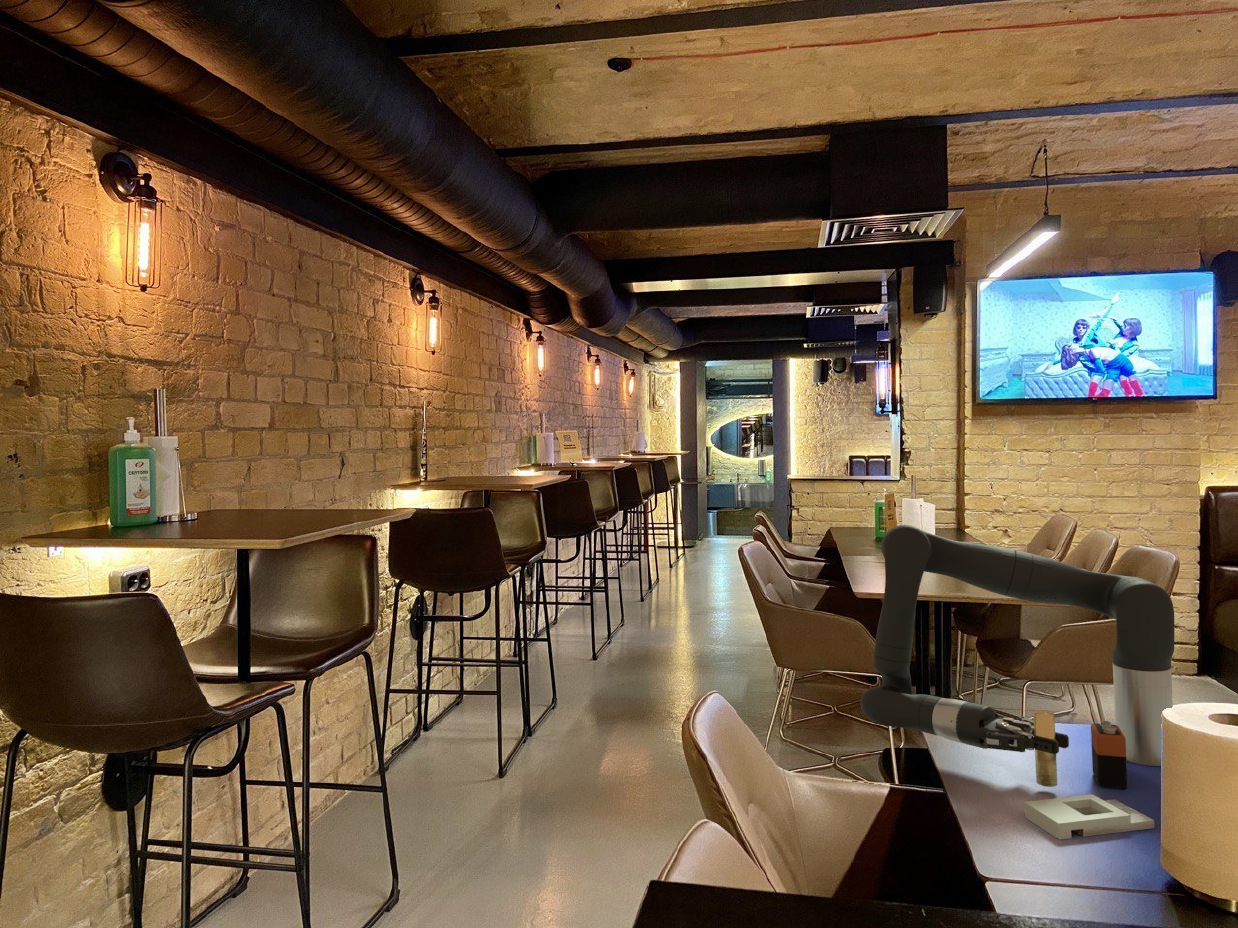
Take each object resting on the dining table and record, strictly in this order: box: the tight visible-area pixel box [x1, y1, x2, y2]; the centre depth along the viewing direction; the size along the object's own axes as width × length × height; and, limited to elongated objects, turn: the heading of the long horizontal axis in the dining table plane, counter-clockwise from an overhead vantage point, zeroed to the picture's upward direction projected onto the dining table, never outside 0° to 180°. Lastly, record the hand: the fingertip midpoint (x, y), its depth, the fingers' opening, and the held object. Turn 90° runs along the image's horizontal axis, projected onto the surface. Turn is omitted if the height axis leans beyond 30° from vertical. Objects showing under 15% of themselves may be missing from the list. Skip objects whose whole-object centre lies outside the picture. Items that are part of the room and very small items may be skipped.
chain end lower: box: [1073, 798, 1155, 837], centre depth 128 cm, size 12×8×1 cm, turn 99°
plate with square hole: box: [1023, 793, 1131, 840], centre depth 127 cm, size 12×8×2 cm, turn 99°
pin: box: [1032, 709, 1058, 788], centre depth 139 cm, size 3×3×12 cm
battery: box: [1090, 720, 1128, 790], centre depth 142 cm, size 4×7×10 cm, turn 158°
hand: (1062, 744), depth 137 cm, fingers closed on pin, 3 cm apart
